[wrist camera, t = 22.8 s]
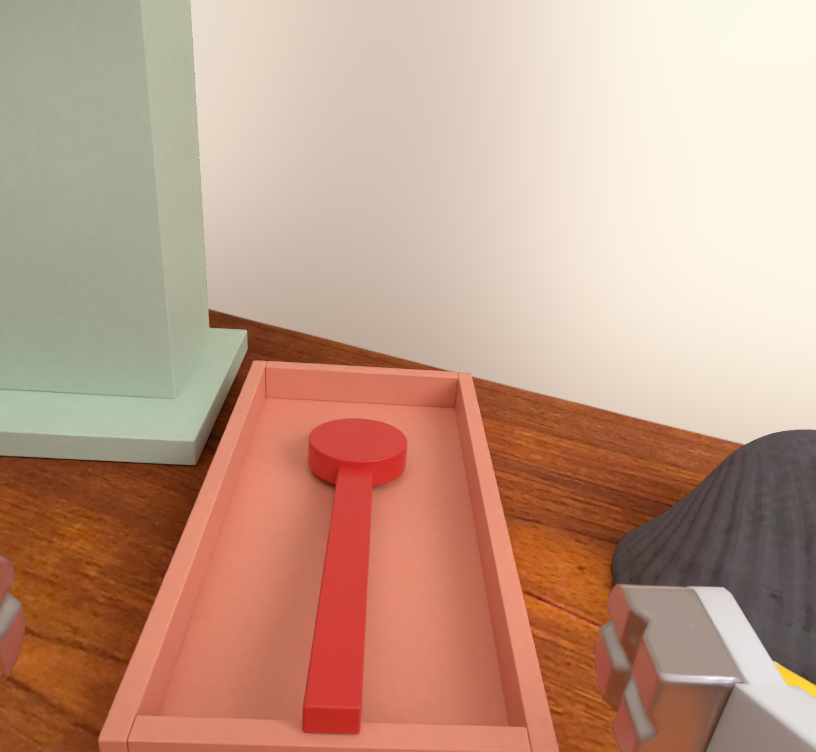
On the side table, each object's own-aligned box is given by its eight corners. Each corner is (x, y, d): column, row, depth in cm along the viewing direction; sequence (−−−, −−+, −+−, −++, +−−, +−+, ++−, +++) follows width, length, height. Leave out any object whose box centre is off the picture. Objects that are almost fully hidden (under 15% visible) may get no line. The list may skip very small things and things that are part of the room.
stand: (-93, 451, 34) (-308, -270, 22) (37, 337, 46) (-53, -161, 34) (196, 466, 34) (145, -223, 22) (247, 349, 47) (233, -133, 35)
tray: (108, 803, 20) (95, 739, 18) (254, 402, 41) (253, 359, 39) (543, 814, 20) (560, 753, 19) (465, 414, 41) (471, 372, 40)
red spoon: (417, 738, 19) (421, 699, 19) (242, 732, 19) (242, 692, 18) (404, 444, 36) (406, 420, 36) (313, 439, 36) (314, 415, 36)
